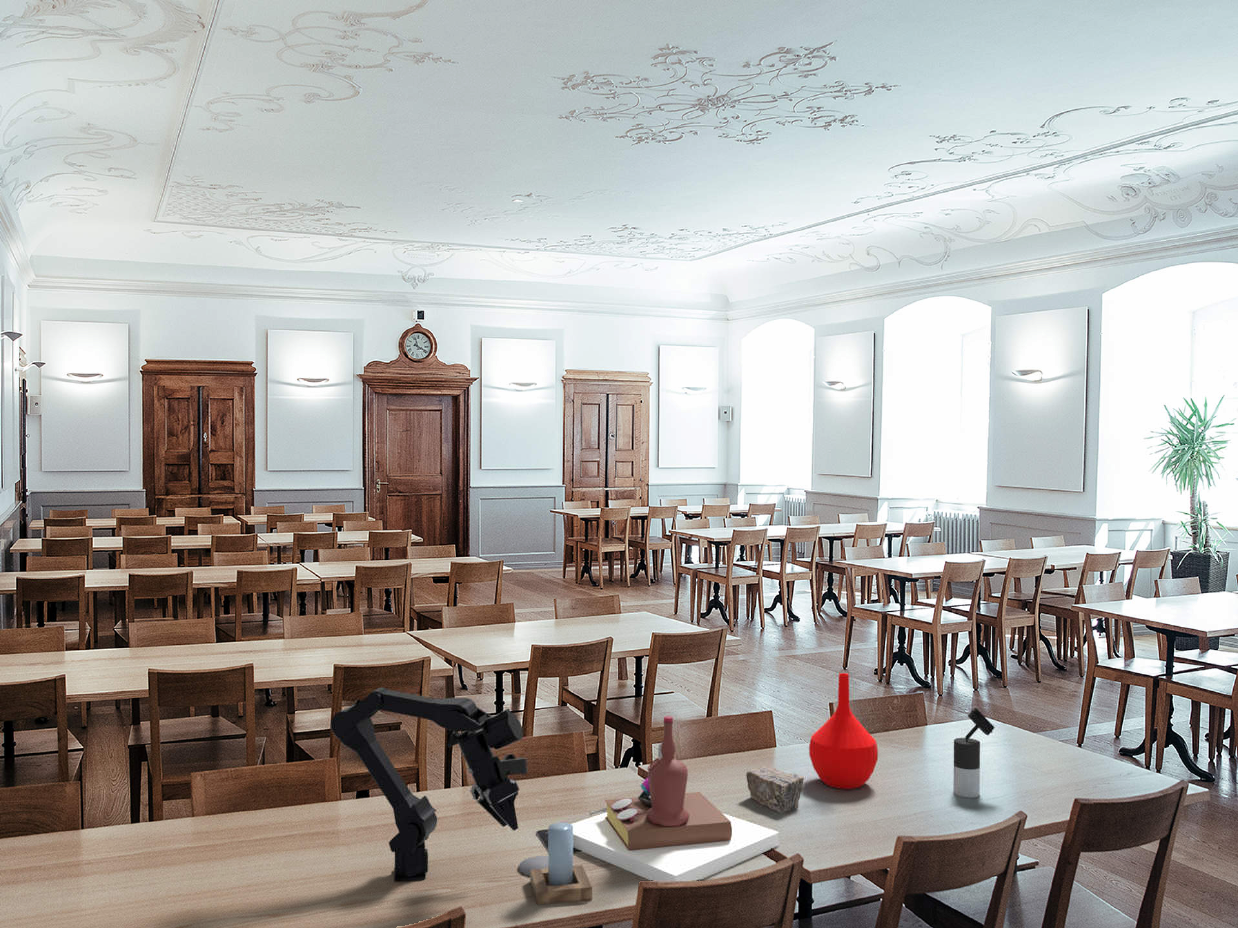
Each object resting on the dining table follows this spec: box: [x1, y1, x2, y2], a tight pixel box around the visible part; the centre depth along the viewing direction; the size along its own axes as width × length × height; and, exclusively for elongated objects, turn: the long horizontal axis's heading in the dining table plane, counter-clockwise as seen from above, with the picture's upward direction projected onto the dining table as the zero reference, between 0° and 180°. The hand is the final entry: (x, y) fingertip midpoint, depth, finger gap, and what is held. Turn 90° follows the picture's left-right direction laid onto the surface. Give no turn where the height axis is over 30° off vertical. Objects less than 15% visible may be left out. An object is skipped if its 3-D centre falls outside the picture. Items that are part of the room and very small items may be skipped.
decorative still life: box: [570, 715, 780, 881], centre depth 234 cm, size 35×40×31 cm
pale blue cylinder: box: [547, 822, 574, 886], centre depth 208 cm, size 5×5×13 cm
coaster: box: [518, 855, 548, 877], centre depth 219 cm, size 10×10×1 cm
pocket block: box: [529, 865, 593, 905], centre depth 208 cm, size 11×11×2 cm
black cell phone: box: [535, 828, 582, 854], centre depth 234 cm, size 8×1×15 cm
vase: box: [808, 672, 879, 790], centre depth 277 cm, size 18×18×30 cm
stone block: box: [745, 765, 805, 814], centre depth 261 cm, size 14×9×8 cm, turn 37°
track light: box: [953, 707, 996, 798], centre depth 269 cm, size 6×17×20 cm
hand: (510, 827), depth 210 cm, fingers open, 9 cm apart
